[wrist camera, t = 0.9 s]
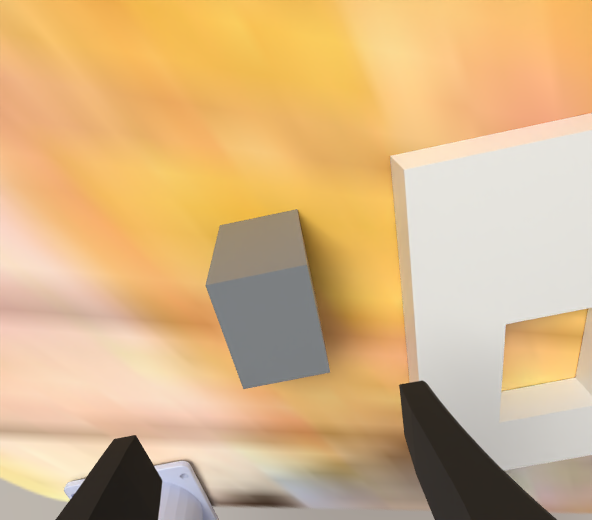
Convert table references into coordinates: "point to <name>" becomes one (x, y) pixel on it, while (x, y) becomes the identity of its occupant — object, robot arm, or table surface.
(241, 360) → the block
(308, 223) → the table surface
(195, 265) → the table surface
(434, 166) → the base plate
